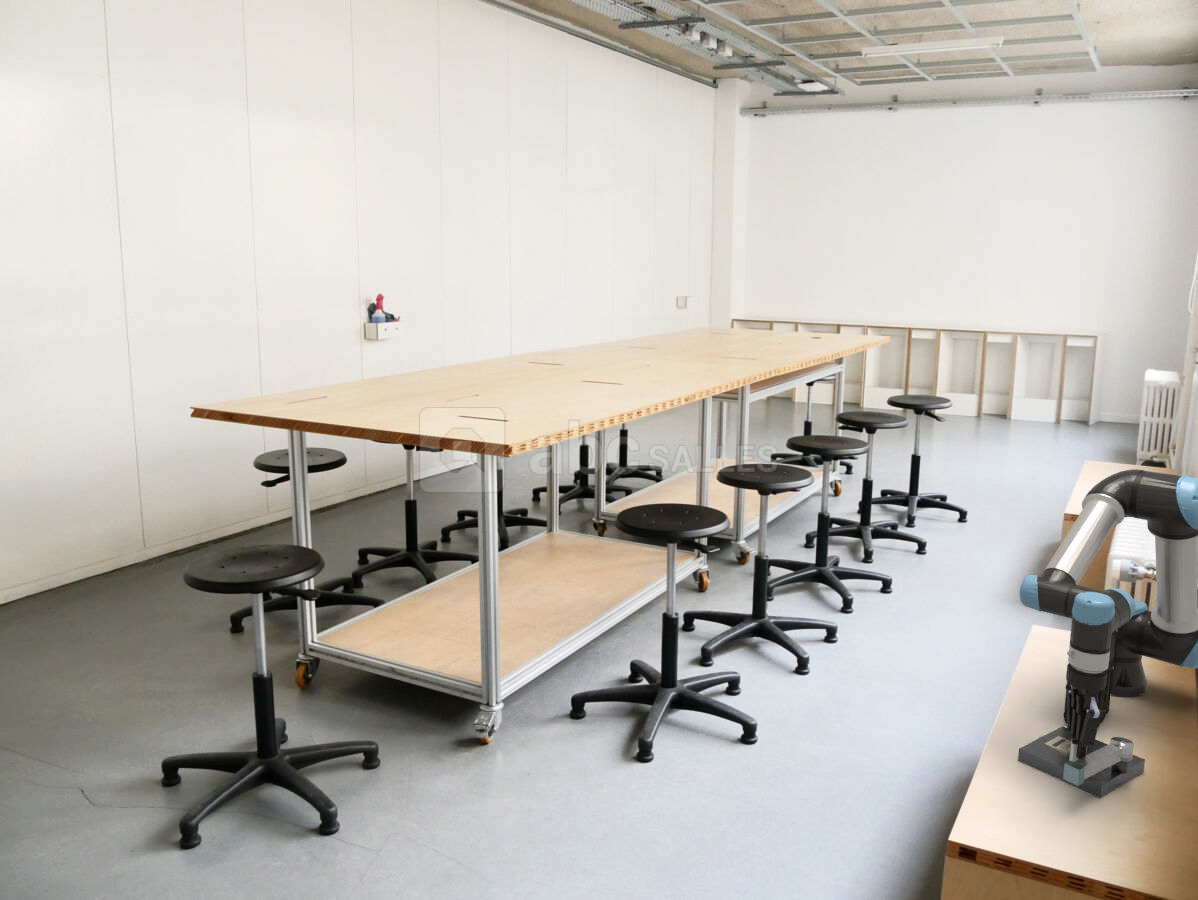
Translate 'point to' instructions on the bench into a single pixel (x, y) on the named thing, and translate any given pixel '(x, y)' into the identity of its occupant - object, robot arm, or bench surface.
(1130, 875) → the bench surface
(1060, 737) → the grey slotted box
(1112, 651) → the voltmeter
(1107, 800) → the bench surface
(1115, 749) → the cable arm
